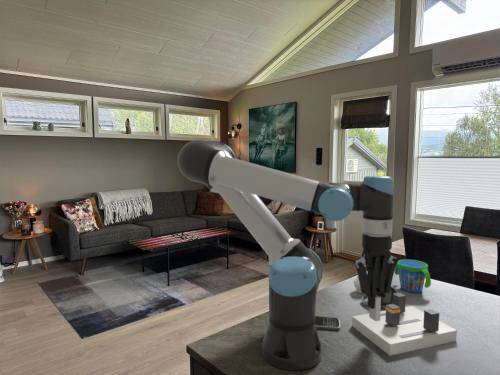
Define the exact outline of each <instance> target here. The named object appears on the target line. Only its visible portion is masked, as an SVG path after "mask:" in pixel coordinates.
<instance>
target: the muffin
mask: <svg viewBox="0 0 500 375" xmlns="http://www.w3.org/2000/svg"><path fill="white" fill-rule="evenodd" d="M353 284H354V285H353V286H354V287H355V290H356V291H357V293H360V294H363V293H362V292H361V288H360V282H359V277H358V275H357V276H356V277H355V278H354V280H353Z"/></svg>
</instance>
